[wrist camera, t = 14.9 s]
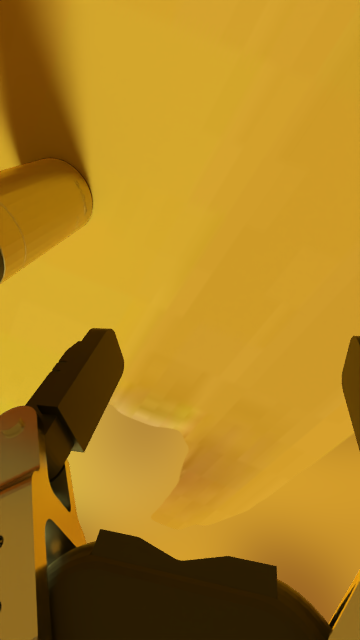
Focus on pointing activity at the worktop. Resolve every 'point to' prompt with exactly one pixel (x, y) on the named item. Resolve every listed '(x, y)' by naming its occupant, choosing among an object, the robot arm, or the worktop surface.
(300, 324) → the worktop surface
